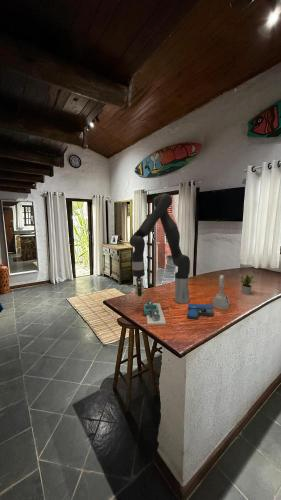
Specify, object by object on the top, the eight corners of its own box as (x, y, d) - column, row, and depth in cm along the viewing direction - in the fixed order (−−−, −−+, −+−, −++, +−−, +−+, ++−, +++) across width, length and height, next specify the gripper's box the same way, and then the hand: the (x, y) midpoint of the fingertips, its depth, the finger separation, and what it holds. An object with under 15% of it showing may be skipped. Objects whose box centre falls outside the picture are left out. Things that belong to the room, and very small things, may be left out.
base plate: (159, 304, 143) (159, 303, 143) (165, 324, 115) (165, 322, 115) (144, 304, 143) (144, 303, 143) (147, 324, 115) (147, 323, 115)
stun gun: (215, 316, 117) (212, 303, 131) (187, 314, 120) (186, 302, 134) (215, 323, 118) (211, 309, 132) (187, 321, 121) (186, 308, 135)
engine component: (211, 307, 136) (227, 310, 131) (211, 276, 134) (228, 278, 128) (215, 301, 146) (230, 304, 140) (215, 272, 143) (231, 274, 138)
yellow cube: (143, 293, 135) (143, 286, 134) (143, 296, 130) (143, 288, 129) (135, 294, 135) (135, 286, 134) (135, 296, 130) (135, 289, 129)
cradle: (157, 309, 133) (157, 304, 133) (158, 314, 125) (158, 310, 124) (143, 309, 133) (143, 305, 133) (144, 315, 125) (144, 310, 124)
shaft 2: (148, 315, 124) (148, 309, 123) (154, 314, 125) (154, 308, 125) (154, 321, 116) (154, 314, 116) (160, 320, 118) (160, 313, 117)
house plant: (262, 297, 152) (263, 275, 150) (243, 297, 152) (244, 275, 150) (252, 290, 166) (253, 270, 164) (234, 291, 166) (235, 271, 164)
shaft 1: (153, 309, 133) (153, 303, 133) (147, 309, 133) (147, 303, 133) (152, 304, 141) (152, 298, 141) (146, 304, 141) (146, 298, 141)
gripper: (145, 270, 123) (146, 298, 125) (143, 265, 137) (144, 290, 140) (132, 271, 123) (133, 299, 125) (132, 266, 137) (133, 291, 139)
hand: (139, 294), depth 132 cm, fingers closed on yellow cube, 5 cm apart
